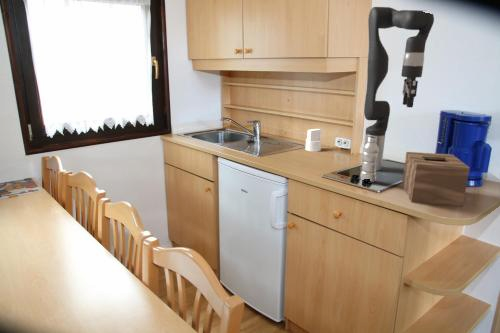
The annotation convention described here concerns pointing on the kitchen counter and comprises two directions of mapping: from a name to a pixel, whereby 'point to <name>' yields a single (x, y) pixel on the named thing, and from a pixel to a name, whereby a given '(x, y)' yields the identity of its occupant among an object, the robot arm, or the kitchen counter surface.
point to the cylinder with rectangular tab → (313, 140)
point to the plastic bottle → (370, 159)
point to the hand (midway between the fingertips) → (407, 105)
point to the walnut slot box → (435, 178)
